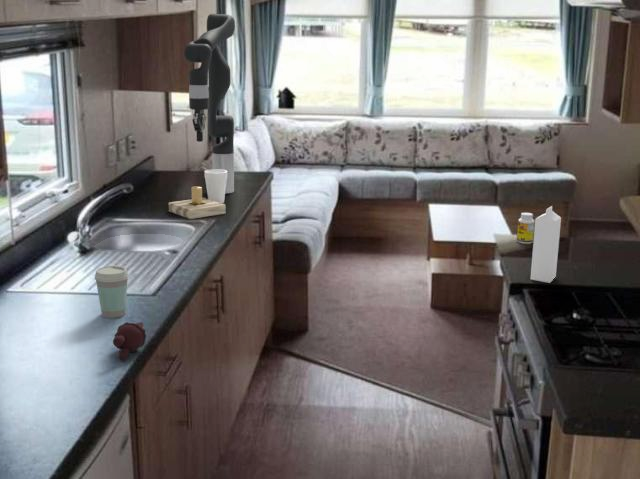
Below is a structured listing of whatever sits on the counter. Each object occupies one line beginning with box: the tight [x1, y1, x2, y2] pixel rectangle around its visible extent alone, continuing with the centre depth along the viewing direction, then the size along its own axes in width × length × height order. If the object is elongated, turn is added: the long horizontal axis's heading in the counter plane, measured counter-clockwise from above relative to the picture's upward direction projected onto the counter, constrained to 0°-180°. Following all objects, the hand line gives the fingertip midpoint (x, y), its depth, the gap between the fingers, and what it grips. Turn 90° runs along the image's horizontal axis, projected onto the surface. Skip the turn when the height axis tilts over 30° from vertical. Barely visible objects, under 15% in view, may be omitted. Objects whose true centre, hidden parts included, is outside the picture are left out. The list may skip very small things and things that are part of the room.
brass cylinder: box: [191, 185, 203, 206], centre depth 328 cm, size 4×4×10 cm
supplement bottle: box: [516, 212, 535, 245], centre depth 293 cm, size 6×6×10 cm
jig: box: [168, 197, 227, 220], centre depth 329 cm, size 16×16×4 cm
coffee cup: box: [94, 265, 130, 319], centre depth 216 cm, size 8×8×12 cm
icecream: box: [112, 321, 147, 362], centre depth 194 cm, size 7×7×15 cm
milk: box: [529, 205, 562, 284], centre depth 250 cm, size 6×6×22 cm
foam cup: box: [204, 168, 227, 204], centre depth 346 cm, size 10×9×13 cm
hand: (199, 141), depth 329 cm, fingers closed
